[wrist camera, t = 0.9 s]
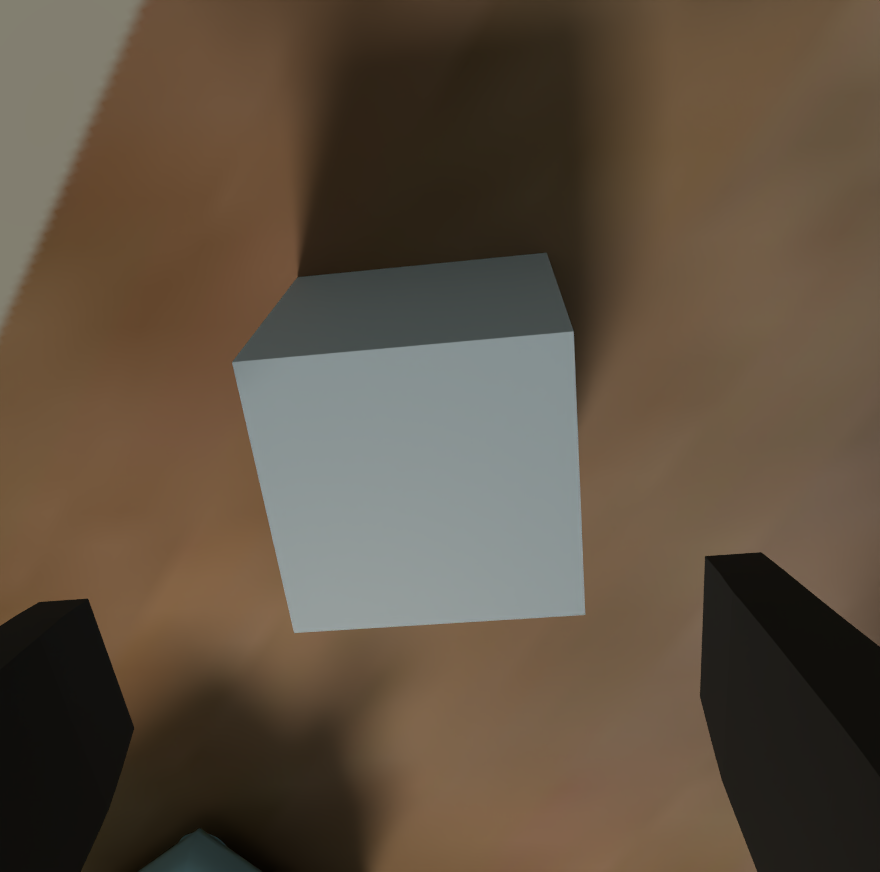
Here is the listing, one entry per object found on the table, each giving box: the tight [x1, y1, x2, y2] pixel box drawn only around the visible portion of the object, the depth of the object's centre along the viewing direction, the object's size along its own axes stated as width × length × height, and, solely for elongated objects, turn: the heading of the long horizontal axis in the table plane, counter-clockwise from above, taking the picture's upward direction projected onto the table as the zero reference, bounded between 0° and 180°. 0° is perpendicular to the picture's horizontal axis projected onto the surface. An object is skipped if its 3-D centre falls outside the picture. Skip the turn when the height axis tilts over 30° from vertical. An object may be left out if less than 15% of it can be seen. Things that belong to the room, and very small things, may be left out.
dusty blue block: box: [232, 253, 585, 633], centre depth 15 cm, size 5×5×5 cm
